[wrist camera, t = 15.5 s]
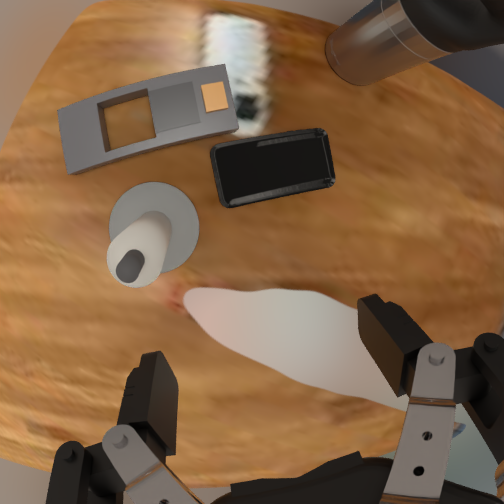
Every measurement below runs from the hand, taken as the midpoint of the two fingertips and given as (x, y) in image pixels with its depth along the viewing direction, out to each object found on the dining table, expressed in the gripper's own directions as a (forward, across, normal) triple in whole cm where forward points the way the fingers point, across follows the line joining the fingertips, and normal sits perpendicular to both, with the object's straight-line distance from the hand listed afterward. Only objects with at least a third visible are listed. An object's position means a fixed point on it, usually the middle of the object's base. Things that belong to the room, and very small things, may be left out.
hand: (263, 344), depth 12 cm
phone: (+29, -6, -2) cm, 30 cm away
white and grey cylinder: (+26, +9, +1) cm, 27 cm away
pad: (+26, +9, +1) cm, 28 cm away
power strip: (+28, +7, -12) cm, 31 cm away
